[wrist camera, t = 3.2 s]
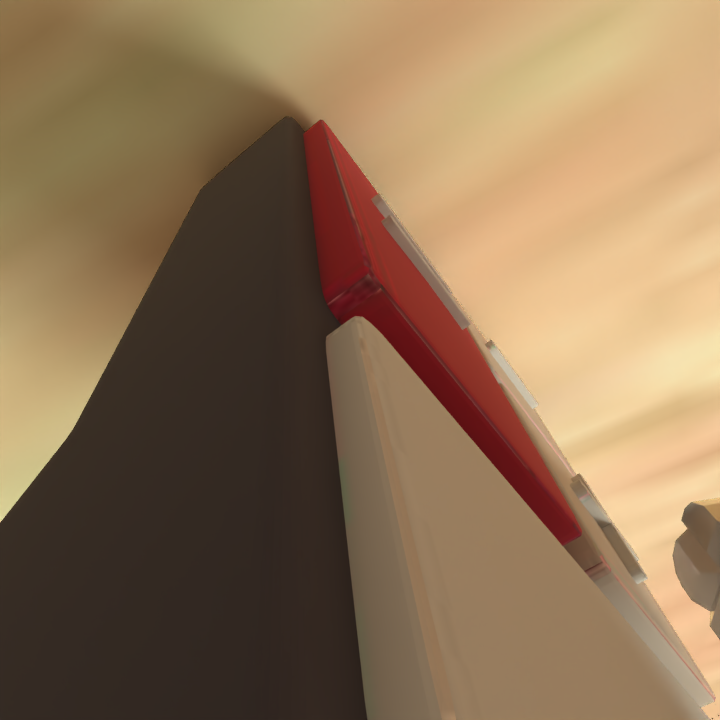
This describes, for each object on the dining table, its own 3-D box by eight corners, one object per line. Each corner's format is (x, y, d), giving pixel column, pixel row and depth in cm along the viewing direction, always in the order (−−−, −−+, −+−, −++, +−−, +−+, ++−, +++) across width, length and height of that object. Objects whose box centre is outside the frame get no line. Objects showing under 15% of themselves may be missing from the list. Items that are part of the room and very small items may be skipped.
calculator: (528, 385, 19) (1044, 1171, 6) (419, 454, 20) (661, 1258, 7) (313, 89, 14) (628, 973, 1) (182, 201, 15) (-524, 1382, 2)
